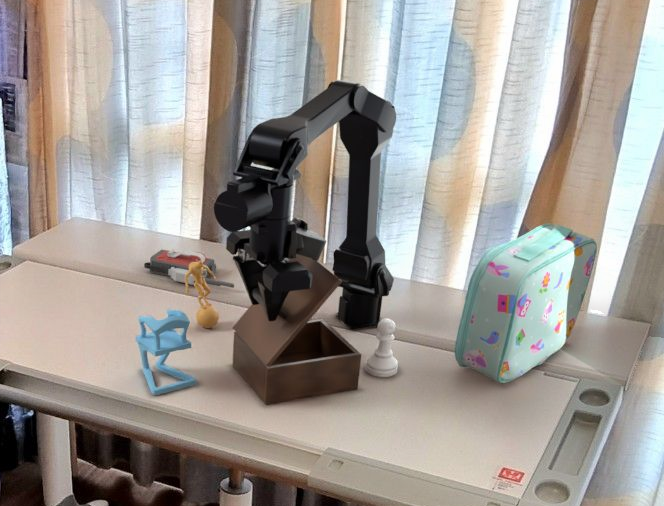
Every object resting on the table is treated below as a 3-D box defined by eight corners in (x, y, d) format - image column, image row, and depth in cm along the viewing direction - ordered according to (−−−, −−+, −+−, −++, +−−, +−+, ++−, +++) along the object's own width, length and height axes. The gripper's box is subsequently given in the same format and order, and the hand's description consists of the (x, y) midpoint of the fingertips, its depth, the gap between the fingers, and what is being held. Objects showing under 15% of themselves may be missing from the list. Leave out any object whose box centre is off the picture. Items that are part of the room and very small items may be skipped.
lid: (302, 249, 163) (282, 232, 161) (342, 281, 152) (321, 264, 150) (235, 330, 167) (215, 315, 164) (269, 367, 156) (247, 351, 153)
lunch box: (523, 323, 183) (547, 205, 172) (580, 341, 176) (609, 219, 165) (443, 374, 167) (463, 248, 156) (502, 396, 160) (528, 266, 149)
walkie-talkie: (138, 275, 204) (231, 295, 195) (137, 254, 201) (232, 273, 193) (159, 260, 210) (250, 278, 201) (159, 240, 208) (251, 257, 199)
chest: (319, 352, 174) (322, 318, 171) (357, 390, 163) (361, 354, 159) (232, 366, 170) (233, 331, 167) (265, 405, 159) (267, 368, 156)
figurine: (202, 338, 179) (204, 273, 173) (174, 328, 183) (175, 264, 177) (230, 321, 185) (232, 258, 179) (202, 313, 188) (204, 250, 182)
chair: (171, 363, 171) (171, 296, 165) (197, 384, 165) (198, 315, 159) (129, 374, 168) (128, 306, 162) (154, 396, 162) (154, 325, 156)
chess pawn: (376, 360, 171) (382, 310, 167) (403, 370, 168) (410, 319, 164) (359, 370, 168) (364, 319, 164) (385, 380, 165) (392, 329, 161)
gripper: (351, 229, 145) (339, 331, 153) (294, 189, 161) (286, 284, 168) (277, 237, 142) (269, 340, 150) (227, 196, 158) (222, 291, 166)
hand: (263, 312), depth 159 cm, fingers closed on lid, 6 cm apart
